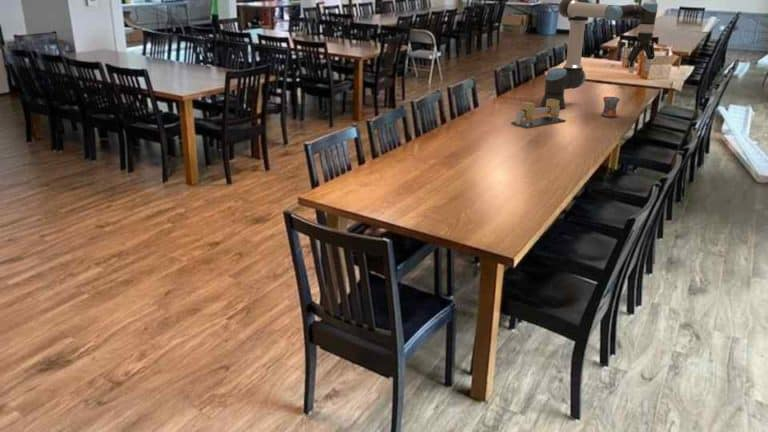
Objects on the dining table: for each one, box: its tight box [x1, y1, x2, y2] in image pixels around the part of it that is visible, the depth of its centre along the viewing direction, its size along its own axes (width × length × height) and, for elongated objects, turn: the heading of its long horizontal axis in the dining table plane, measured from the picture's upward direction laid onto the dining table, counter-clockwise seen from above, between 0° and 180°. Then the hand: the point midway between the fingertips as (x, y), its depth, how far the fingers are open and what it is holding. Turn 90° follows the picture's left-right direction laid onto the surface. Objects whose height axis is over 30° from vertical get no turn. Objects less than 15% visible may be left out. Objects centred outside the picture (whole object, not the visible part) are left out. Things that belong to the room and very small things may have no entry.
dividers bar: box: [515, 101, 560, 125], centre depth 339 cm, size 7×30×11 cm, turn 122°
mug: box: [601, 96, 621, 118], centre depth 358 cm, size 12×9×11 cm
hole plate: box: [510, 115, 567, 129], centre depth 341 cm, size 12×30×2 cm, turn 122°
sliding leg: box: [544, 98, 560, 119], centre depth 344 cm, size 7×4×10 cm, turn 32°
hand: (638, 72), depth 337 cm, fingers open, 13 cm apart
